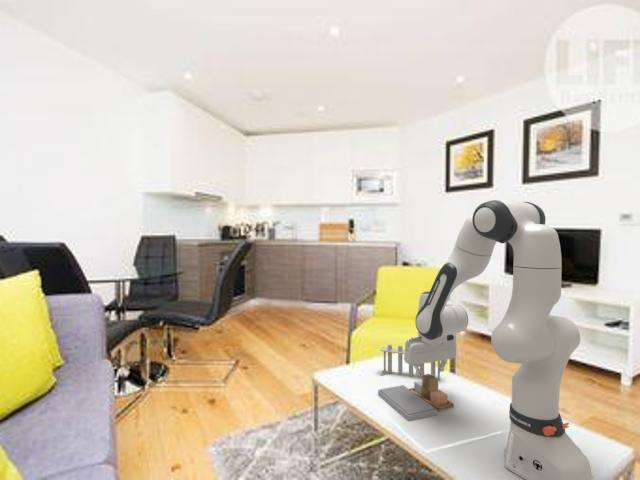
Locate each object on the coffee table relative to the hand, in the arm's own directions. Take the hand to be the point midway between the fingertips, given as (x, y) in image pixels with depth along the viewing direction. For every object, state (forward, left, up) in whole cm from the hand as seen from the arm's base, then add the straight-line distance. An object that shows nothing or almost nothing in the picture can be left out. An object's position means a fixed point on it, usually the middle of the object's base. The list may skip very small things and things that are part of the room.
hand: (430, 372), depth 136 cm
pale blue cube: (+4, +1, -9) cm, 10 cm away
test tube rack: (+19, -5, -11) cm, 23 cm away
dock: (-1, +10, -10) cm, 15 cm away
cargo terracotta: (-5, 0, -9) cm, 11 cm away
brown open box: (-1, 0, -11) cm, 11 cm away
